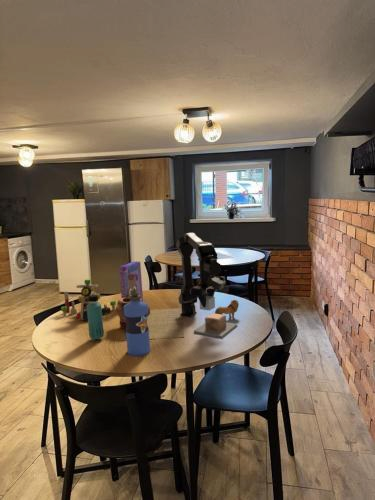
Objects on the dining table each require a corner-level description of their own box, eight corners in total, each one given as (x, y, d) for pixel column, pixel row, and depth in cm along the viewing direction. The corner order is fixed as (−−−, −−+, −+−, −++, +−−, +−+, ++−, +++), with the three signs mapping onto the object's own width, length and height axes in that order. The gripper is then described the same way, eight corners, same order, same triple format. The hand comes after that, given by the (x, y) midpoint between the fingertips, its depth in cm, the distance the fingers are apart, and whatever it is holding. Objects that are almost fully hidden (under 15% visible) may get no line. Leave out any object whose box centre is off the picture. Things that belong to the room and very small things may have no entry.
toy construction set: (51, 320, 181) (46, 282, 178) (76, 307, 202) (73, 273, 199) (95, 323, 172) (91, 283, 170) (117, 309, 194) (114, 274, 191)
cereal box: (129, 308, 195) (126, 266, 191) (122, 307, 196) (119, 266, 193) (142, 299, 211) (140, 261, 208) (135, 299, 212) (133, 261, 209)
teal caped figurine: (96, 343, 146) (92, 298, 144) (86, 340, 150) (81, 296, 147) (107, 338, 152) (104, 294, 149) (97, 335, 155) (93, 293, 153)
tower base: (193, 332, 153) (193, 319, 152) (210, 321, 166) (210, 309, 166) (221, 338, 146) (221, 324, 145) (237, 325, 159) (236, 312, 158)
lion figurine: (235, 315, 174) (234, 298, 173) (241, 318, 170) (241, 300, 168) (210, 320, 168) (209, 302, 167) (216, 323, 163) (215, 305, 162)
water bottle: (122, 353, 135) (117, 292, 132) (138, 344, 143) (133, 286, 140) (139, 358, 130) (135, 294, 127) (155, 349, 138) (151, 288, 134)
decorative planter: (158, 324, 165) (156, 297, 164) (145, 334, 154) (143, 304, 153) (123, 320, 174) (121, 294, 172) (109, 329, 163) (106, 301, 161)
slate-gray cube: (199, 309, 153) (199, 298, 153) (205, 306, 157) (205, 295, 157) (209, 310, 151) (209, 299, 150) (215, 307, 155) (214, 296, 154)
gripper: (211, 277, 140) (212, 314, 142) (231, 268, 155) (232, 302, 157) (188, 275, 146) (190, 310, 148) (210, 267, 161) (211, 299, 163)
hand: (207, 305), depth 154 cm, fingers closed on slate-gray cube, 5 cm apart
